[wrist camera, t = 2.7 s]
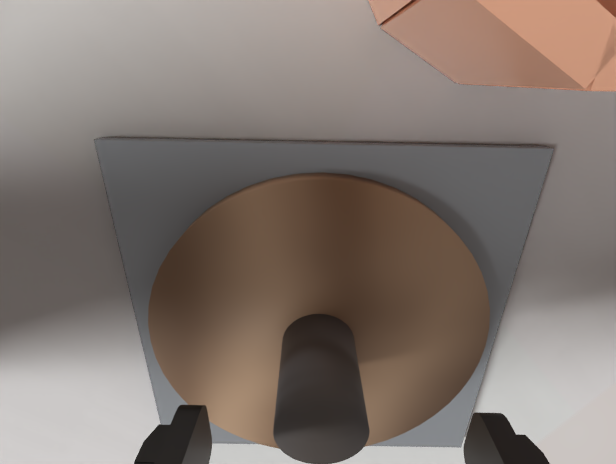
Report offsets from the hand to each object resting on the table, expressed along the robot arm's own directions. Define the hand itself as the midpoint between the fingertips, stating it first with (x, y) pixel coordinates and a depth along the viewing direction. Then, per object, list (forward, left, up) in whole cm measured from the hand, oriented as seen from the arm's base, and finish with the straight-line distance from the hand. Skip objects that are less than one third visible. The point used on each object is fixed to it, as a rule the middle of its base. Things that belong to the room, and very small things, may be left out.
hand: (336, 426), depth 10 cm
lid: (0, -1, -5) cm, 5 cm away
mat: (0, -1, -6) cm, 6 cm away
